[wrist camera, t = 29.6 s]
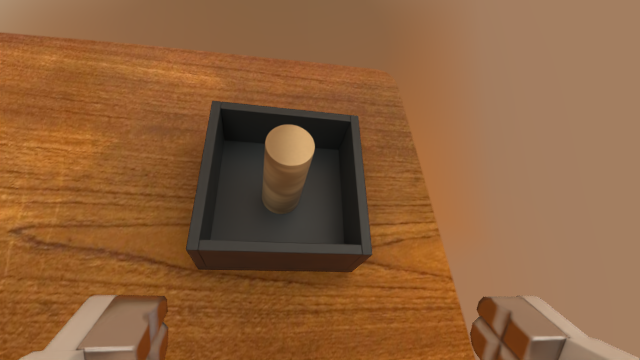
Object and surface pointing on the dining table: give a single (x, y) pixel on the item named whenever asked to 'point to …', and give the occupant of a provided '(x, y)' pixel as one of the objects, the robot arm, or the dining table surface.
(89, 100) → the dining table surface
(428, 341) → the dining table surface
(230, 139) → the bin
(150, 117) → the dining table surface
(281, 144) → the dowel
